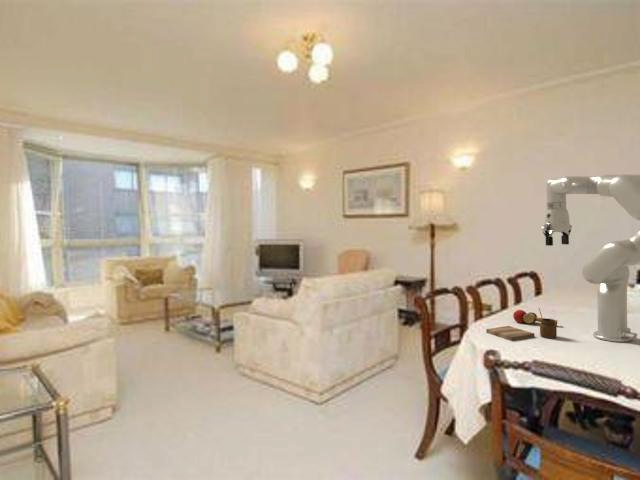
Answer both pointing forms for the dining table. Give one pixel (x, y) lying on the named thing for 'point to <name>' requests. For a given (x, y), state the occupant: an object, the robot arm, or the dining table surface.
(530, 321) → the kendama
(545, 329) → the utensil holder
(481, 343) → the dining table surface
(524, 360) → the dining table surface
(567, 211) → the robot arm
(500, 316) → the dining table surface
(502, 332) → the board
